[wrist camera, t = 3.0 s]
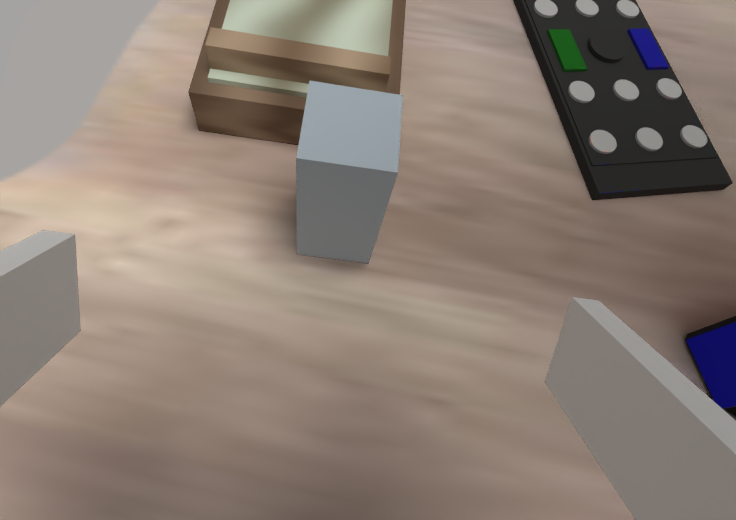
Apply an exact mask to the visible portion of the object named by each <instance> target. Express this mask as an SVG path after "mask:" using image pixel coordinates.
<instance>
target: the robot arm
mask: <svg viewBox="0 0 736 520" xmlns="http://www.w3.org/2000/svg"><path fill="white" fill-rule="evenodd" d="M80 331H81V329H80V311H79V294H78V276H77V258H76V241H75V234H69V233H61V232H54V231H46V230H42V231H40V232H38V233H36V234H34V235H32V236H30V237H28V238H26V239H24V240H22V241H20V242H18V243H16V244H14V245H12V246H10V247H8V248H6V249H4V250H2V251H0V406H2V405H3V404H4V403H5V402H6V401H7V400H8V399H9V398H10V397H11V396H12V395H13V394H14V393H15V392H16V391H17V390H19V389H20V388H21V387H22V386H23V385H24V384H25V383H26V382H27V381H28V380H29V379H30V378H31V377H32V376H33V375H34V374H35V373H37V372H38V371H39V370H40V369H41V368H42V367H43V366H44V365H45V364H46V363H47V362H48V361H49V360H50V359H51V358H52V357H54V356H55V355H56V354H57V353H58V352H59V351H60V350H61V349H62V348H63V347H64V346H65V345H66V344H67V343H68V342H69V341H70V340H72V339H73V338H74V337H75V336H76V335H77V334H78V333H79V332H80ZM545 383H546V384H547V386H548V387H549V389H550V390H551V392H552V393H553V395H554V396H555V398H556V399H557V401H558V403H559V404H560V406H561V407H562V409H563V410H564V412H565V413H566V415H567V416H568V418H569V419H570V421H571V422H572V424H573V425H574V427H575V428H576V430H577V431H578V433H579V434H580V436H581V438H582V439H583V441H584V442H585V444H586V445H587V447H588V448H589V450H590V451H591V453H592V454H593V456H594V457H595V459H596V460H597V462H598V463H599V465H600V466H601V468H602V470H603V471H604V473H605V474H606V476H607V477H608V479H609V480H610V482H611V483H612V485H613V486H614V488H615V489H616V491H617V492H618V494H619V495H620V497H621V498H622V500H623V502H624V503H625V505H626V506H627V508H628V509H629V511H630V512H631V514H632V515H633V517H634V518H635V520H736V416H734V415H732V414H731V413H729V412H727V411H726V410H724V409H723V408H721V407H720V406H719V405H717V404H716V403H715V402H714V401H713V400H712V399H711V398H709V397H708V396H707V395H706V394H705V393H704V392H703V391H701V390H700V389H699V388H698V387H697V386H696V385H695V384H693V383H692V382H691V381H690V380H689V379H688V378H687V377H685V376H684V375H683V374H682V373H681V372H680V371H679V370H677V369H676V368H675V367H674V366H673V365H672V364H671V363H669V362H668V361H667V360H666V359H665V358H664V357H663V356H661V355H660V354H659V353H658V352H657V351H656V350H655V349H653V348H652V347H651V346H650V345H649V344H648V343H647V342H645V341H644V340H643V339H642V338H641V337H640V336H639V335H637V334H636V333H635V332H634V331H633V330H632V329H631V328H629V327H628V326H627V325H626V324H625V323H624V322H623V321H621V320H620V319H619V318H618V317H617V316H616V315H615V314H613V313H612V312H611V311H610V310H609V309H608V308H607V307H605V306H604V305H603V304H602V303H601V302H600V301H599V300H591V299H583V298H575V297H572V299H571V303H570V306H569V309H568V312H567V315H566V318H565V321H564V324H563V327H562V330H561V333H560V336H559V340H558V343H557V346H556V349H555V352H554V355H553V358H552V361H551V364H550V367H549V370H548V373H547V377H546V380H545Z"/></svg>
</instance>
